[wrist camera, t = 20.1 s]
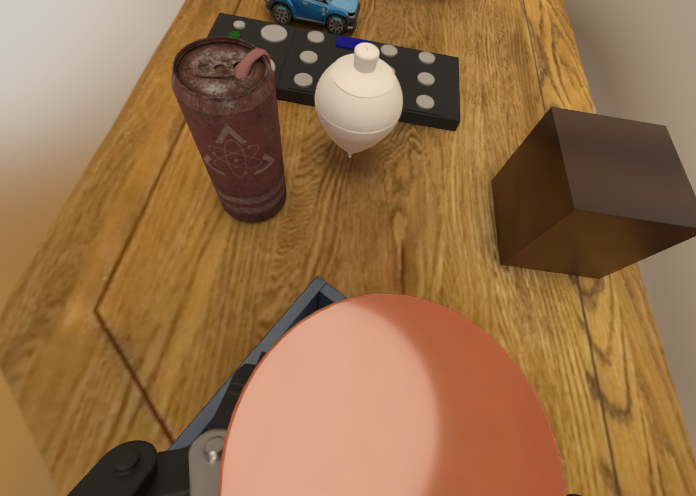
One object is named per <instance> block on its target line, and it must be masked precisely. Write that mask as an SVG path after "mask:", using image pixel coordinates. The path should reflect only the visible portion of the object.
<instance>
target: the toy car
mask: <svg viewBox="0 0 696 496" xmlns="http://www.w3.org/2000/svg"><path fill="white" fill-rule="evenodd" d="M265 2H266V7H267V8H268V9H269V11H270V12H271V11H272V13H273V17H274V19H276V21H277V22H279V24H283V25H286V24H289V23H290V21H291V19H292V17H293V20H296V21H301V22H306V23H311V24H316V25H321V26H326V23H327V28H328V29H329V31H330V32H331V33H332V34H335V35H339V34H340V35H341V34H343V32H345V29H346V26H347V31H351V30H353V29H354V28H355V26H356V23H357V19H358V13H359V8H360V3H359V2H358V0H265ZM273 5H274V7H273ZM272 8H273V10H272ZM279 10H280V11H279ZM285 13H286V14H285ZM286 15H287V16H286ZM339 24H341V26H340V25H339Z"/></svg>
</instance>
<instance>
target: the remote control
mask: <svg viewBox="0 0 696 496" xmlns="http://www.w3.org/2000/svg"><path fill="white" fill-rule="evenodd" d="M217 36H227V37H233V38H239V39H241V40H244V41H246V42H249V43H251V44H252V45H254V46H255V47H257V48H260V49H263V50H265V51H266V52H267V53H268V55H269V56H270V61H271V67H272V70H273V74H274V79H275V87H276V97H277V99H279V100H284V101H290V102H296V103H301V104H307V105H312V106H315V91H316V87H317V84H318V81H319V79H320V77H321V76H322V74H323V73H324V72H325V70H326V69H327V68H328V67H329V66H330V65H332V64H333V63H334V62H335V61H336V60H338V59H339V58H340V57H342V56H345V55H348V54H354V49H355V47H356V46H357V45H358V44H360V43H371V44H373V45H375V46H376V47H377V48H378V49H379V52H380V54H379V59H381V60H383V61H384V62H385V63H387V64H388V65H389V66H390V68H391V69H392V71H393V73H394V74H395V76H396V78H397V80H398V82H399V84H400V87H401V90H402V95H403V106H402V112H401V115H400V118H399V120H398V121H402V122H408V123H413V124H419V125H425V126H430V127H436V128H441V129H447V130H453V131H455V130H456V128H457V127H458V125H459V123H460V94H459V59H458V57H452V56H447V55H442V54H437V53H431V52H426V51H421V50H415V49H410V48H405V47H399V46H394V45H389V44H383V43H378V42H373V41H367V40H362V39H357V38H351V37H346V36H341V35H335V34H330V33H325V32H319V31H314V30H309V29H303V28H298V27H293V26H287V25H282V24H277V23H271V22H266V21H261V20H255V19H250V18H245V17H239V16H234V15H229V14H223V13H219V15H218V17H217V19H216V21H215V23H214V25H213V27H212V29H211V31H210V33H209V35H208V37H217Z"/></svg>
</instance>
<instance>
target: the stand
mask: <svg viewBox="0 0 696 496" xmlns="http://www.w3.org/2000/svg"><path fill="white" fill-rule="evenodd" d="M492 189H493V199H494V208H495V218H496V228H497V237H498V247H499V256H500V264H501V265H507V266H514V267H521V268H528V269H535V270H542V271H550V272H557V273H564V274H571V275H578V276H585V277H592V278H602V277H604V276H606V275H608V274H611V273H613V272H615V271H618V270H620V269H622V268H624V267H627V266H629V265H631V264H633V263H636V262H638V261H640V260H642V259H645V258H647V257H649V256H652V255H654V254H656V253H658V252H661V251H663V250H665V249H667V248H670V247H672V246H674V245H676V244H679V243H681V242H683V241H686V240H688V239H690V238H692V237H695V236H696V196H695V194H694V192H693V189H692V187H691V185H690V182H689V180H688V178H687V175H686V173H685V170H684V168H683V166H682V163H681V161H680V159H679V156H678V154H677V151H676V149H675V147H674V144H673V142H672V140H671V137H670V135H669V132H668V130H667V128H666V126H663V125H656V124H651V123H645V122H639V121H633V120H627V119H621V118H615V117H609V116H603V115H597V114H591V113H585V112H580V111H574V110H568V109H562V108H556V107H551V108H550V109H549V110H548V112H547V113H546V114H545V115H544V117H543V118H542V119H541V120H540V121H539V123H538V124H537V125H536V126H535V128H534V129H533V130H532V131H531V133H530V134H529V135H528V136H527V138H526V139H525V140H524V141H523V142H522V144H521V145H520V146H519V147H518V149H517V150H516V151H515V152H514V154H513V155H512V156H511V157H510V158H509V160H508V161H507V162H506V163H505V165H504V166H503V167H502V168H501V170H500V171H499V172H498V173H497V175H496V176H495V177H494V178H493V179H492Z"/></svg>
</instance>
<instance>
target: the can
mask: <svg viewBox="0 0 696 496" xmlns="http://www.w3.org/2000/svg"><path fill="white" fill-rule="evenodd" d="M172 89H173V91H174V93H175V96H176V98H177V100H178V103H179V105H180V107H181V110H182V112H183V114H184V117H185V119H186V122H187V124H188V126H189V129H190V131H191V133H192V136H193V138H194V140H195V143H196V145H197V147H198V150H199V152H200V155H201V157H202V159H203V162H204V164H205V166H206V169H207V171H208V173H209V176H210V178H211V180H212V183H213V185H214V187H215V190H216V192H217V195H218V197H219V199H220V202H221V204H222V206H223V207H224V209H225V211H227V212H228V213H229V214H230V215H231V216H232V217H235V218H237V219H239V220H243V221H250V222H254V221H261V220H264V219H266V218H269V217H271V216H273V215H274V214H275V213H276V212H278V211H279V210H280V209H281V207H282V205H283V204H284V202H285V197H286V186H285V176H284V166H283V156H282V146H281V136H280V126H279V116H278V107H277V97H276V87H275V79H274V74H273V70H272V67H271V61H270V56H269V55H268V53H267V52H266V51H265V50H263V49H260V48H257V47H255V46H254V45H252V44H251V43H249V42H246V41H244V40H241V39H239V38H233V37H227V36H217V37H207V38H203V39H199V40H196V41H194V42H192V43H190V44H188V45H186V46H185V47H184V48H183V49H181V50H180V51H179V52H178V53H177V55H176V57H175V59H174V61H173V72H172Z"/></svg>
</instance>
